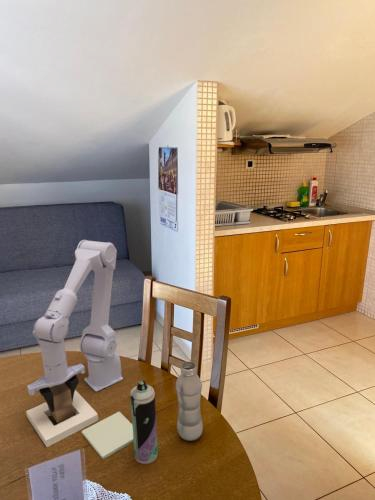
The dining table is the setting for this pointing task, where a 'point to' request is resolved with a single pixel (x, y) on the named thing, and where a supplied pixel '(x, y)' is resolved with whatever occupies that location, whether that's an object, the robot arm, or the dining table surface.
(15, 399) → the dining table surface
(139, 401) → the spray can
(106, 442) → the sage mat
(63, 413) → the walnut block
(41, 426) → the socket board
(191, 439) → the plastic bottle
